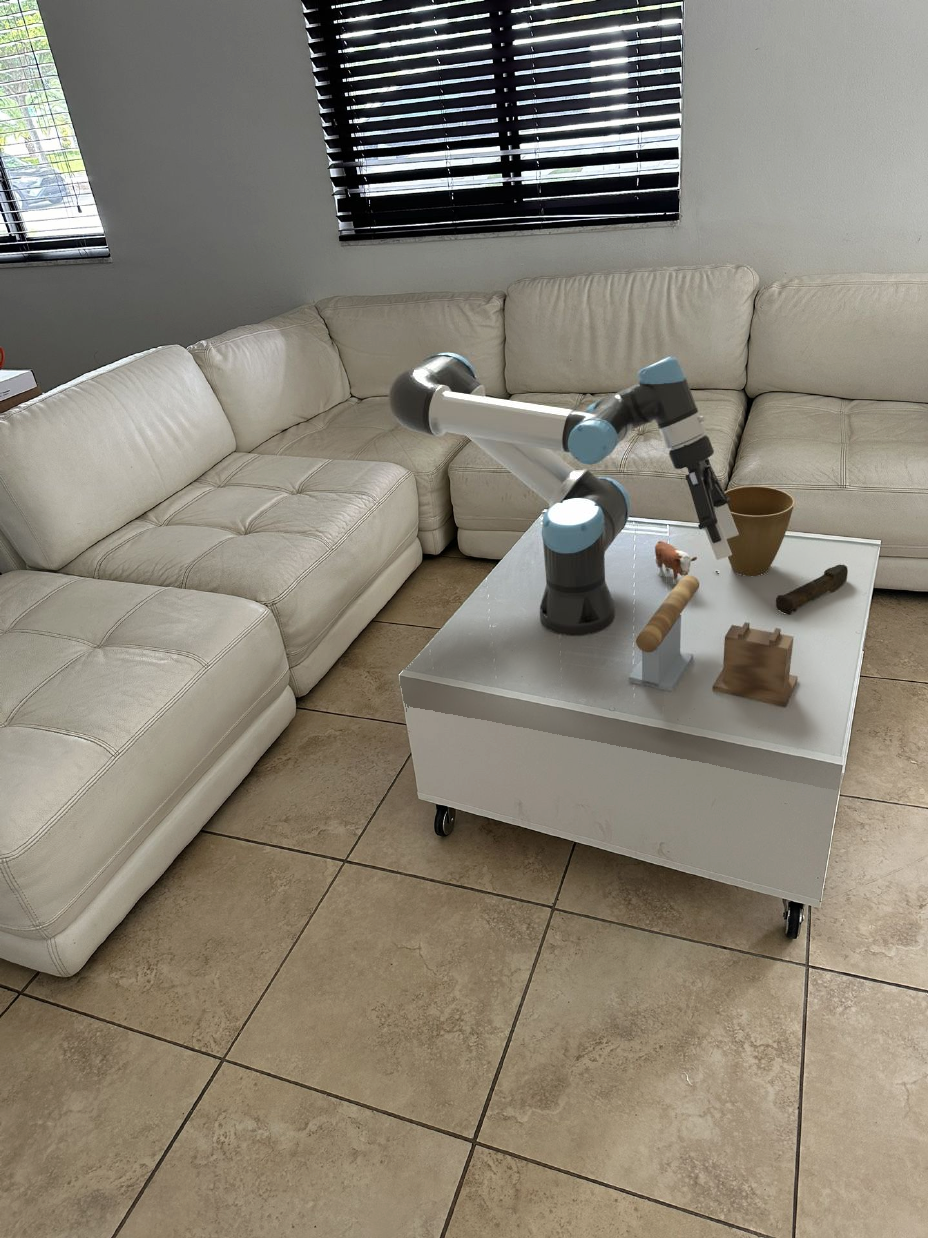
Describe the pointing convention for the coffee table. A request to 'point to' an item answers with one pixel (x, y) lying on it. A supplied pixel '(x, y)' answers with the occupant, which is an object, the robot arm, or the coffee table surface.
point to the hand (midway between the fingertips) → (728, 546)
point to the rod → (667, 614)
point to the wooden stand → (757, 665)
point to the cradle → (663, 662)
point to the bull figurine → (672, 560)
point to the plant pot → (757, 527)
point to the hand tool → (812, 589)
